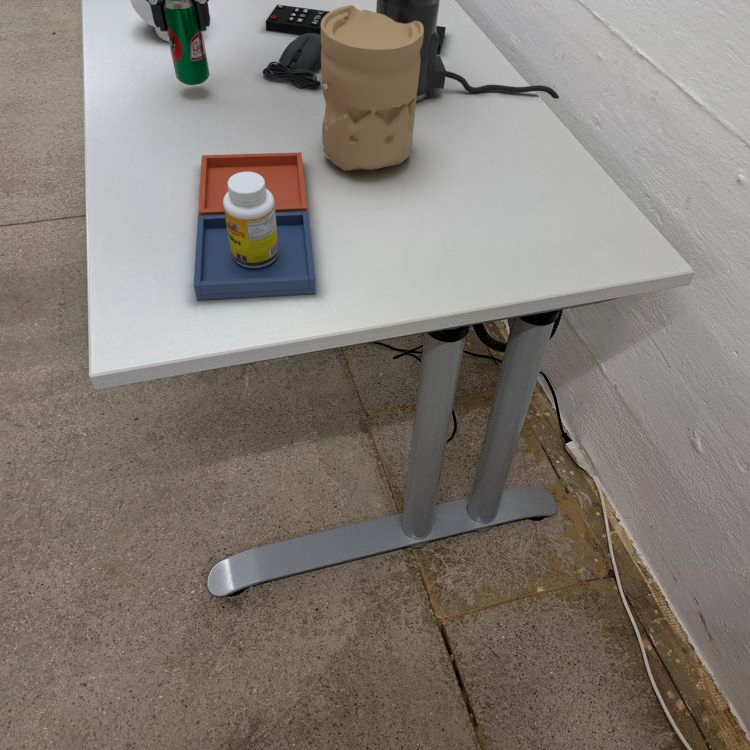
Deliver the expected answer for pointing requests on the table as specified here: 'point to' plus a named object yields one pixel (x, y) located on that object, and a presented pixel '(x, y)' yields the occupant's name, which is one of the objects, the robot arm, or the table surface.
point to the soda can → (186, 41)
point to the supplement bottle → (250, 220)
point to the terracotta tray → (275, 168)
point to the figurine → (147, 15)
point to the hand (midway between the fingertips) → (184, 28)
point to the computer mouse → (299, 62)
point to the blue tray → (232, 280)
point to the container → (368, 87)
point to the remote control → (309, 22)
